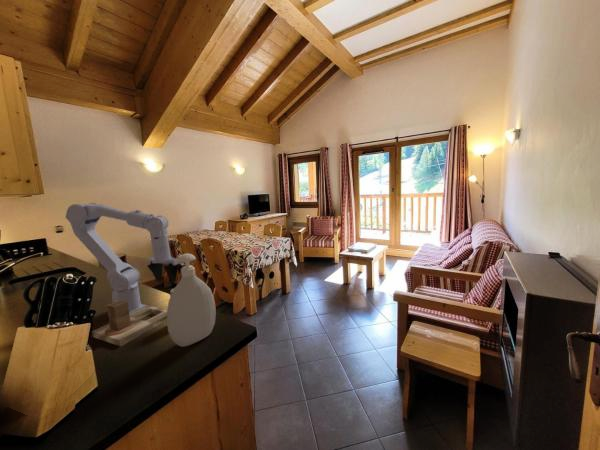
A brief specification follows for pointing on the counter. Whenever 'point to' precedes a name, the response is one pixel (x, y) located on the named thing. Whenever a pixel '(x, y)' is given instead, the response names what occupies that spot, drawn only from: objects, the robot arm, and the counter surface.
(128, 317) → the walnut block
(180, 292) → the soap bottle
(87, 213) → the robot arm
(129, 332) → the holder board
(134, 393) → the counter surface
